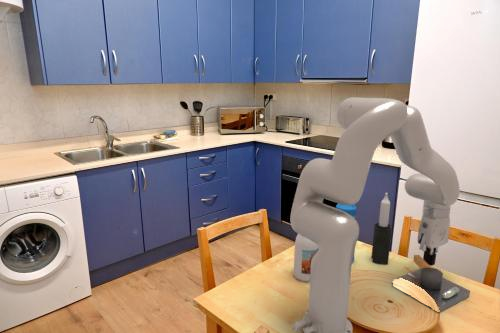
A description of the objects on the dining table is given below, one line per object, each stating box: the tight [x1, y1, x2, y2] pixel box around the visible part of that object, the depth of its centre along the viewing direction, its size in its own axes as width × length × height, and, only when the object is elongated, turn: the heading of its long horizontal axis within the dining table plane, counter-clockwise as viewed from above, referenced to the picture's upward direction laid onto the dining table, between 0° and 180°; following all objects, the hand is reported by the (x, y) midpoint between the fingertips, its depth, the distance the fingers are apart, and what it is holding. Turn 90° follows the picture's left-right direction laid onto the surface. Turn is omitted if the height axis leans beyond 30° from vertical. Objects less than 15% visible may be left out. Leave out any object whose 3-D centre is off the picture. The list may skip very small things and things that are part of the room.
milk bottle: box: [293, 233, 319, 283], centre depth 109 cm, size 8×8×20 cm
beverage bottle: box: [335, 203, 357, 264], centre depth 120 cm, size 8×8×20 cm
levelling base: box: [400, 268, 471, 313], centre depth 103 cm, size 15×15×4 cm
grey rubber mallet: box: [413, 254, 444, 290], centre depth 106 cm, size 13×6×4 cm, turn 0°
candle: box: [371, 192, 392, 265], centre depth 118 cm, size 5×5×25 cm
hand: (428, 263), depth 113 cm, fingers closed
